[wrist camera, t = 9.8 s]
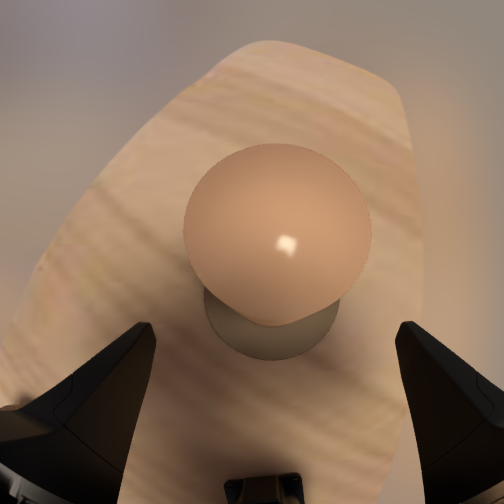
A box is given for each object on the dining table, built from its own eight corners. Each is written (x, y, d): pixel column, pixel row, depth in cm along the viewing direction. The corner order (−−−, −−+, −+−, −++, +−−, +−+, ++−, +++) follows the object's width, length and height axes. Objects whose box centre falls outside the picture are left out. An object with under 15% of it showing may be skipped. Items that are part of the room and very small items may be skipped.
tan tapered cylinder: (315, 318, 19) (394, 289, 7) (243, 335, 19) (200, 338, 7) (297, 250, 21) (335, 133, 8) (229, 265, 21) (175, 164, 8)
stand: (343, 345, 20) (350, 346, 18) (217, 365, 20) (212, 368, 18) (320, 227, 23) (324, 217, 21) (203, 244, 23) (198, 236, 21)
